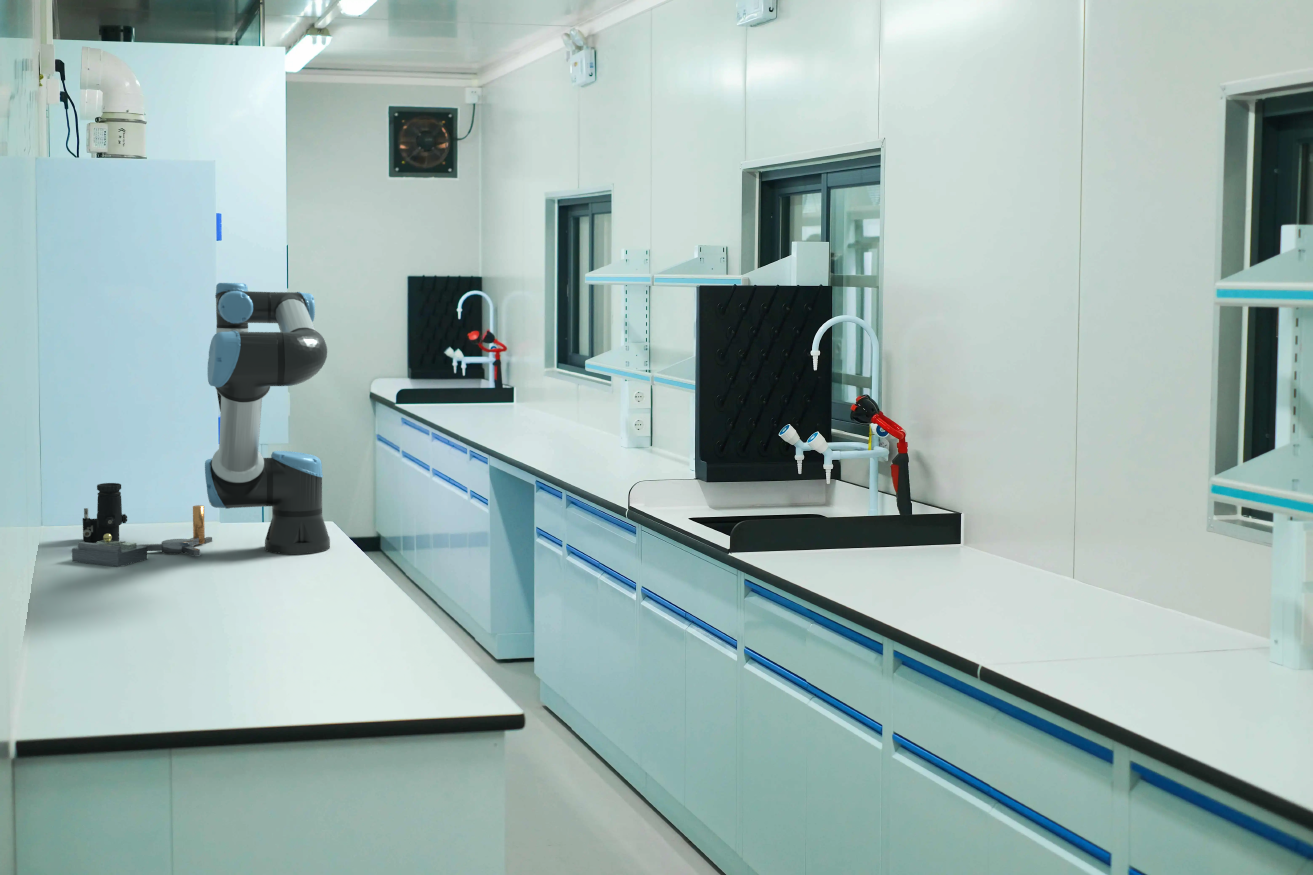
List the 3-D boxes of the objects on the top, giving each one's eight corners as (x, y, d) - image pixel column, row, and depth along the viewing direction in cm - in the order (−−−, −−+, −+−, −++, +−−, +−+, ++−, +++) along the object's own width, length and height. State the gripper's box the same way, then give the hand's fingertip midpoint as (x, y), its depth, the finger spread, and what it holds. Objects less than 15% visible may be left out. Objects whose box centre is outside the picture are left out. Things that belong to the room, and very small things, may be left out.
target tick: (205, 543, 311) (205, 539, 311) (201, 543, 312) (201, 539, 311) (212, 541, 314) (212, 537, 314) (207, 540, 314) (207, 536, 314)
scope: (81, 483, 311) (125, 481, 316) (82, 538, 313) (126, 536, 317) (81, 488, 304) (127, 486, 308) (83, 545, 306) (128, 542, 310)
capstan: (196, 557, 294) (196, 518, 293) (132, 552, 297) (131, 513, 296) (233, 544, 309) (232, 507, 308) (171, 540, 312) (170, 503, 311)
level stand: (147, 559, 292) (146, 535, 291) (118, 567, 283) (118, 542, 283) (101, 554, 296) (101, 530, 296) (72, 561, 288) (71, 537, 287)
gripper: (229, 347, 308) (230, 444, 311) (261, 345, 320) (262, 438, 323) (202, 345, 310) (204, 442, 313) (235, 344, 323) (236, 437, 325)
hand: (233, 440), depth 318 cm, fingers closed
